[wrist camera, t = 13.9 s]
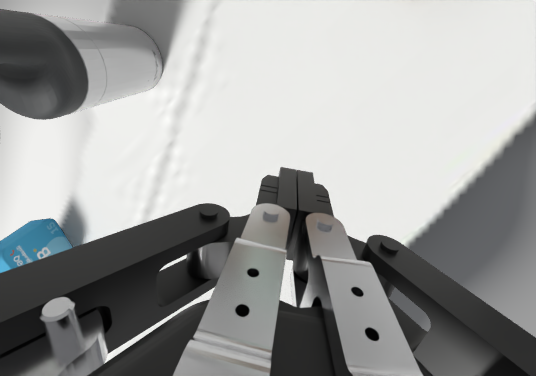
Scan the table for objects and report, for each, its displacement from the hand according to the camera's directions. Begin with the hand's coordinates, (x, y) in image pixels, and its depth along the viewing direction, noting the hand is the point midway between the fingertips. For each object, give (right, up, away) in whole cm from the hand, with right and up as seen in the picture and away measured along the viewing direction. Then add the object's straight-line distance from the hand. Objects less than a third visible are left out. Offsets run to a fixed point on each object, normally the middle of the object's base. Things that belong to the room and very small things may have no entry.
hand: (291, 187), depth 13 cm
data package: (-48, -11, +48) cm, 69 cm away
